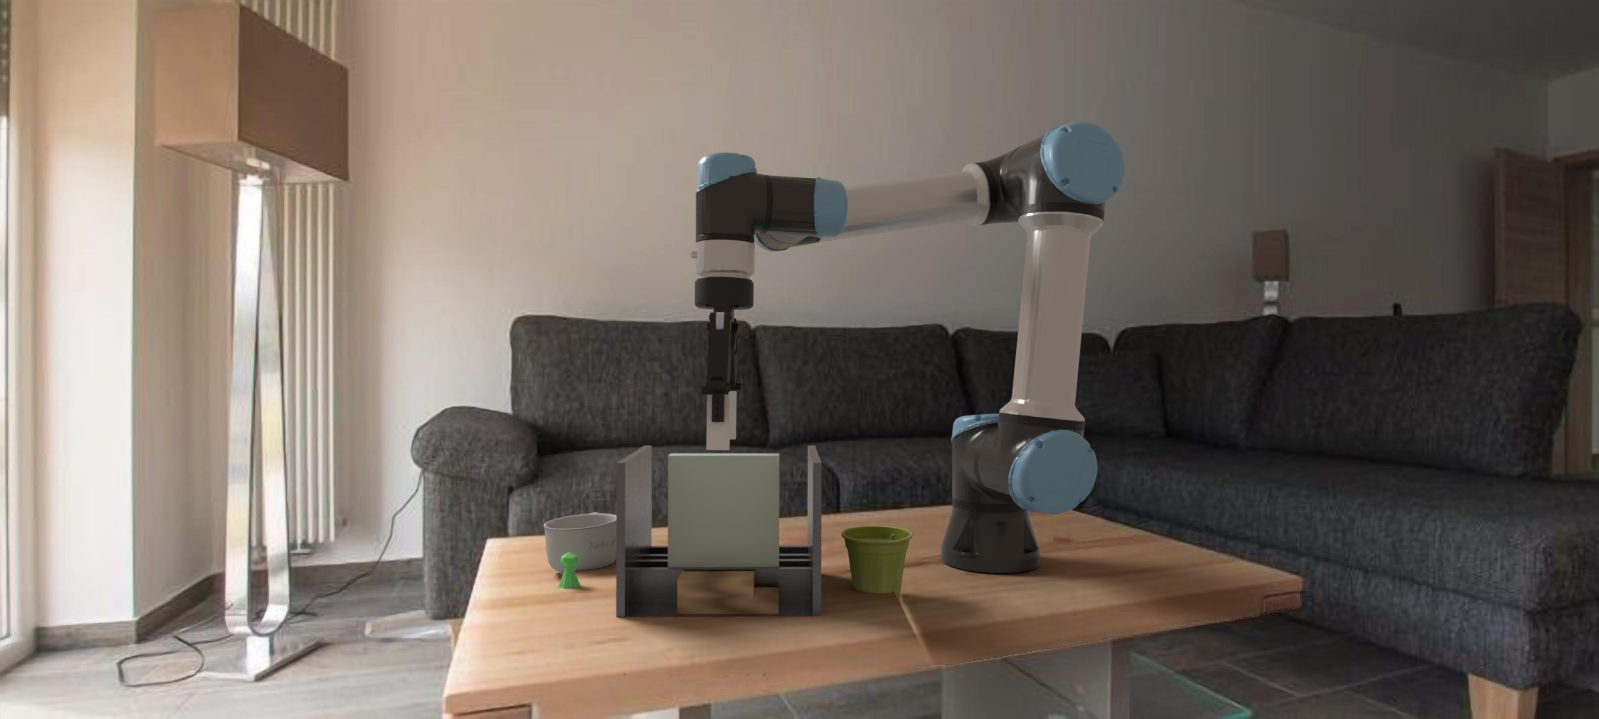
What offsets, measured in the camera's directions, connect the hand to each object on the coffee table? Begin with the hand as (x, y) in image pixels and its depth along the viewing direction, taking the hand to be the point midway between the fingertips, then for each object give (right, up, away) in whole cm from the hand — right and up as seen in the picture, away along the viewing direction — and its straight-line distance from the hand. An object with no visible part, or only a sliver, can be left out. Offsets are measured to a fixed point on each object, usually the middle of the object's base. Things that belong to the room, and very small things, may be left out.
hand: (722, 444), depth 104 cm
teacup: (-22, -21, +19) cm, 36 cm away
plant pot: (+20, -21, +5) cm, 29 cm away
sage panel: (0, -19, 0) cm, 19 cm away
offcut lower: (+1, -19, -5) cm, 20 cm away
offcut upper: (0, -17, -5) cm, 18 cm away
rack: (0, -21, +1) cm, 21 cm away
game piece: (-21, -21, +5) cm, 30 cm away
